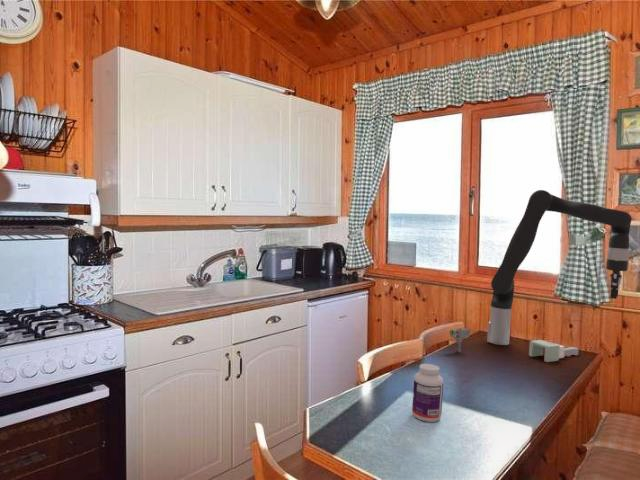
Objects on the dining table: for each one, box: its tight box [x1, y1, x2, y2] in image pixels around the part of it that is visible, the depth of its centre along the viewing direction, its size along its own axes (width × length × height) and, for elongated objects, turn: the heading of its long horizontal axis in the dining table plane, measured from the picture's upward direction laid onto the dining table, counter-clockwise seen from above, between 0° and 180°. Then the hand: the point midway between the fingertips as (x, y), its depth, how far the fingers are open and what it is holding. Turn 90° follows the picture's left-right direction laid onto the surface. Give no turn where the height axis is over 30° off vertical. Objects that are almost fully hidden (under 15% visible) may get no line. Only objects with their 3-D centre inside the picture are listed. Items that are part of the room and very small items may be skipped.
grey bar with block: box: [555, 343, 579, 359], centre depth 194 cm, size 17×4×5 cm, turn 116°
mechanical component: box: [449, 327, 471, 353], centre depth 192 cm, size 3×10×10 cm, turn 115°
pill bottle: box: [411, 363, 444, 423], centre depth 124 cm, size 8×8×14 cm
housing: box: [528, 339, 561, 363], centre depth 189 cm, size 7×9×6 cm
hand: (614, 297), depth 185 cm, fingers open, 8 cm apart
